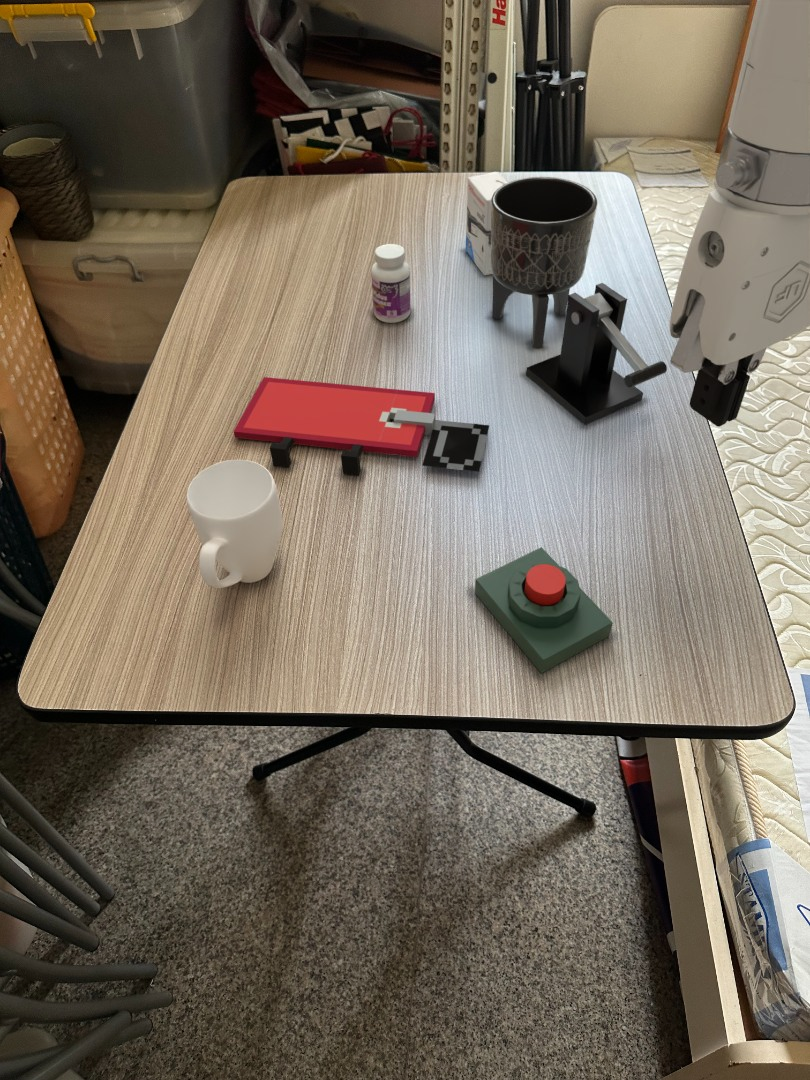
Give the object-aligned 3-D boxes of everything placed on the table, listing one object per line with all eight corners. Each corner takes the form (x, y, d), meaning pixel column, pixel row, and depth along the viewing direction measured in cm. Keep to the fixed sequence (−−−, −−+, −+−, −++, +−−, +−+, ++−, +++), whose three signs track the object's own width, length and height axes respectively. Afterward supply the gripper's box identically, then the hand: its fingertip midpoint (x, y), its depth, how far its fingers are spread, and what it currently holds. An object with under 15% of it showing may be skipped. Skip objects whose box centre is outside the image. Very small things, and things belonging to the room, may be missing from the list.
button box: (609, 636, 74) (616, 610, 71) (541, 673, 72) (545, 649, 69) (539, 560, 81) (543, 534, 78) (474, 592, 78) (475, 567, 75)
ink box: (463, 250, 124) (465, 175, 115) (493, 245, 125) (497, 169, 116) (483, 276, 118) (487, 199, 110) (513, 270, 119) (520, 193, 110)
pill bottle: (366, 318, 112) (362, 255, 104) (384, 300, 115) (381, 237, 108) (400, 327, 110) (397, 263, 103) (417, 309, 113) (416, 245, 106)
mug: (228, 532, 85) (204, 453, 76) (301, 542, 83) (286, 463, 75) (185, 621, 77) (153, 544, 68) (265, 634, 75) (243, 557, 67)
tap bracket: (641, 400, 97) (663, 309, 88) (584, 425, 95) (600, 333, 85) (580, 353, 105) (594, 264, 95) (525, 374, 102) (534, 285, 92)
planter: (538, 290, 115) (551, 167, 102) (597, 331, 108) (620, 203, 95) (466, 318, 111) (470, 193, 98) (523, 362, 103) (536, 234, 90)
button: (571, 595, 73) (573, 584, 72) (540, 612, 72) (542, 600, 70) (547, 570, 75) (549, 558, 74) (517, 585, 74) (518, 573, 72)
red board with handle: (476, 489, 87) (494, 407, 97) (477, 470, 85) (495, 389, 95) (224, 460, 92) (265, 386, 102) (219, 442, 90) (262, 367, 100)
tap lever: (661, 378, 90) (670, 365, 88) (628, 392, 88) (636, 379, 86) (601, 303, 94) (609, 288, 92) (568, 315, 92) (575, 301, 90)
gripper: (744, 221, 41) (673, 479, 54) (929, 150, 46) (821, 404, 59) (644, 173, 45) (601, 423, 59) (822, 113, 50) (744, 357, 64)
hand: (712, 413), depth 59 cm, fingers closed
